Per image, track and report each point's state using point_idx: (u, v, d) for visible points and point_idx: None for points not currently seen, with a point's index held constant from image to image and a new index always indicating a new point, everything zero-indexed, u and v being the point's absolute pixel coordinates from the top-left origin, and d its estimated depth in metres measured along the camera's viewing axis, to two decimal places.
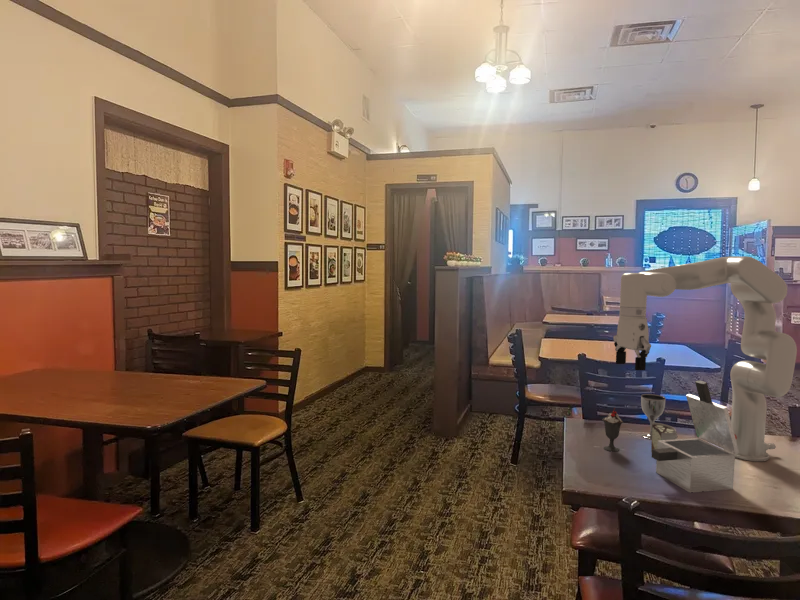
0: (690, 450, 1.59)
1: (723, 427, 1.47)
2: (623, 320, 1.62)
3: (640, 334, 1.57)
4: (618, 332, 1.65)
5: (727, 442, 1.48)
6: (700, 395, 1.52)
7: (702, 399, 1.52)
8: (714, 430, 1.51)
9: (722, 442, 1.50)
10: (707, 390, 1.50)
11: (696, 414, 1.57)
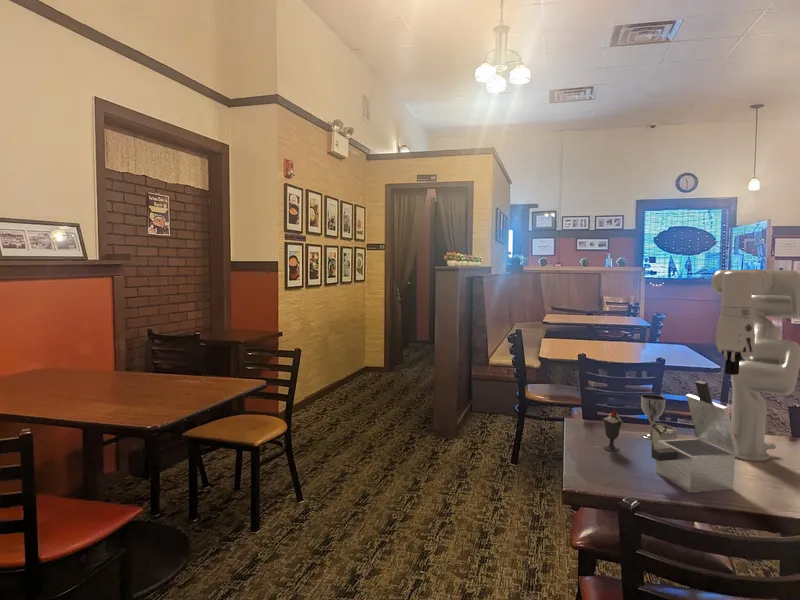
0: (690, 450, 1.59)
1: (723, 427, 1.47)
2: (725, 321, 1.54)
3: (747, 335, 1.49)
4: (718, 333, 1.57)
5: (727, 442, 1.48)
6: (700, 395, 1.52)
7: (702, 399, 1.52)
8: (714, 430, 1.51)
9: (722, 442, 1.50)
10: (707, 390, 1.50)
11: (696, 414, 1.57)
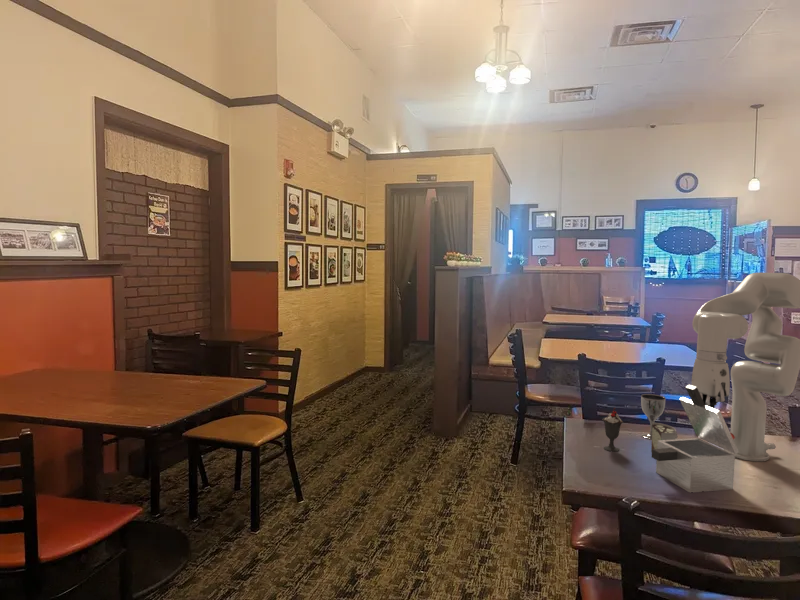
0: (690, 450, 1.59)
1: (719, 429, 1.47)
2: (701, 364, 1.53)
3: (722, 380, 1.48)
4: (694, 376, 1.56)
5: (726, 443, 1.48)
6: (692, 399, 1.51)
7: (695, 403, 1.51)
8: (711, 431, 1.51)
9: (721, 443, 1.50)
10: (698, 394, 1.49)
11: (692, 416, 1.57)
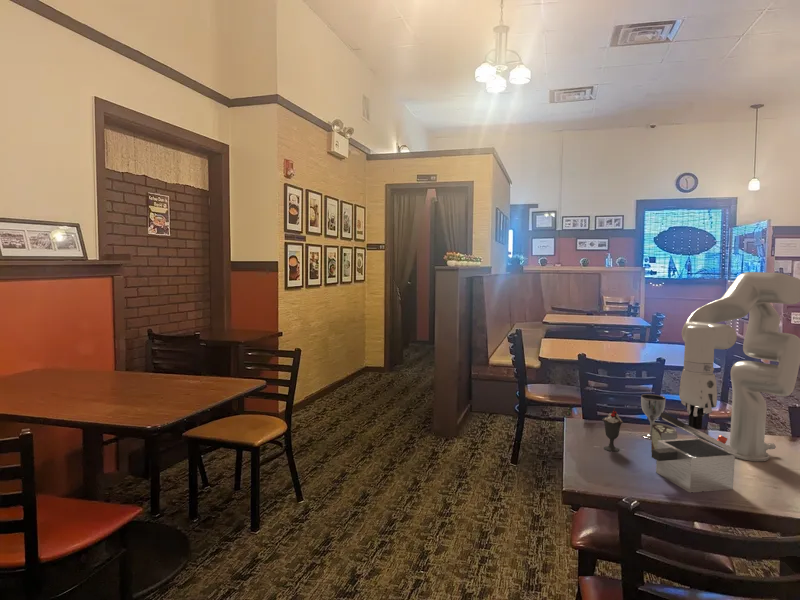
0: (690, 450, 1.59)
1: None
2: (688, 375, 1.53)
3: (709, 391, 1.48)
4: (681, 387, 1.56)
5: (722, 447, 1.48)
6: (672, 423, 1.51)
7: (676, 425, 1.51)
8: (705, 439, 1.51)
9: None
10: (674, 420, 1.48)
11: (682, 428, 1.56)
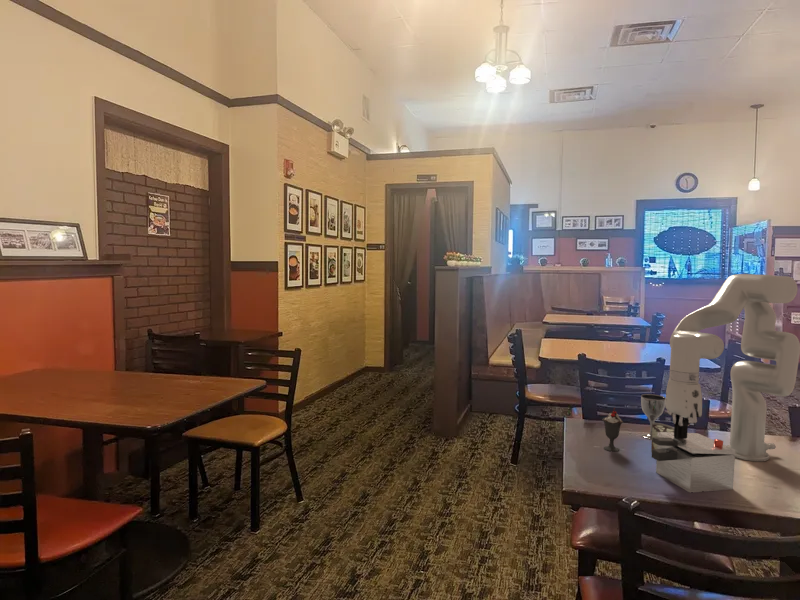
0: None
1: None
2: (674, 384, 1.52)
3: (694, 401, 1.47)
4: (667, 396, 1.55)
5: None
6: None
7: None
8: None
9: None
10: (666, 442, 1.48)
11: None
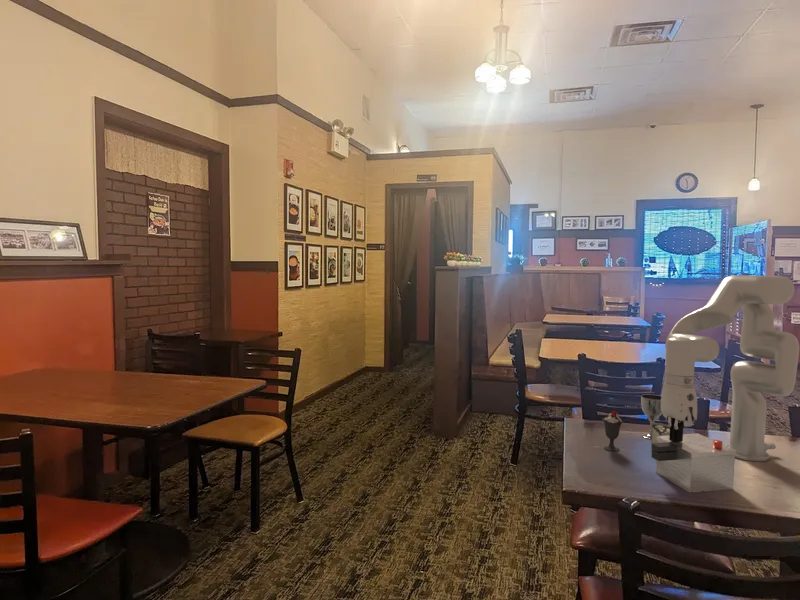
0: None
1: None
2: (669, 388, 1.52)
3: (689, 405, 1.47)
4: (662, 399, 1.55)
5: None
6: None
7: None
8: None
9: None
10: (665, 448, 1.48)
11: None
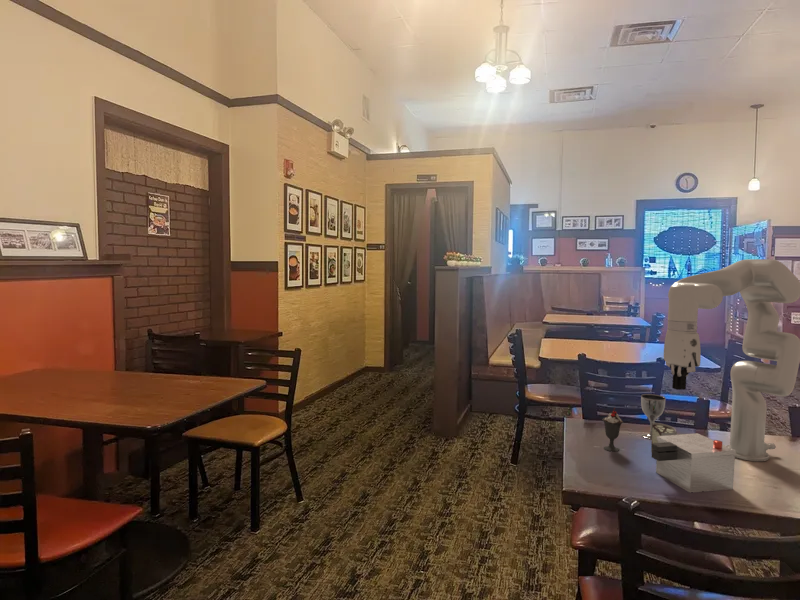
0: None
1: None
2: (672, 335, 1.51)
3: (692, 350, 1.46)
4: (665, 347, 1.54)
5: None
6: None
7: None
8: None
9: None
10: (665, 448, 1.48)
11: None
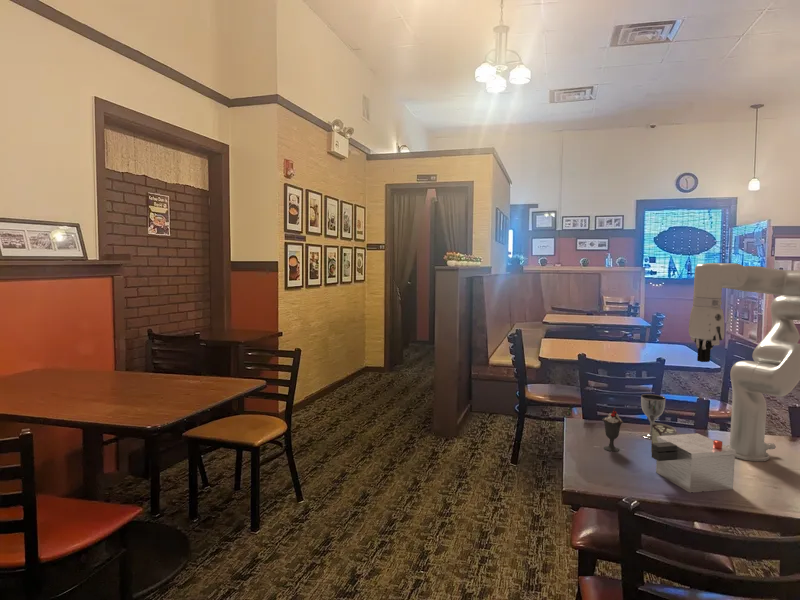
0: None
1: None
2: (697, 311, 1.62)
3: (717, 324, 1.57)
4: (691, 323, 1.65)
5: None
6: None
7: None
8: None
9: None
10: (665, 448, 1.48)
11: None
